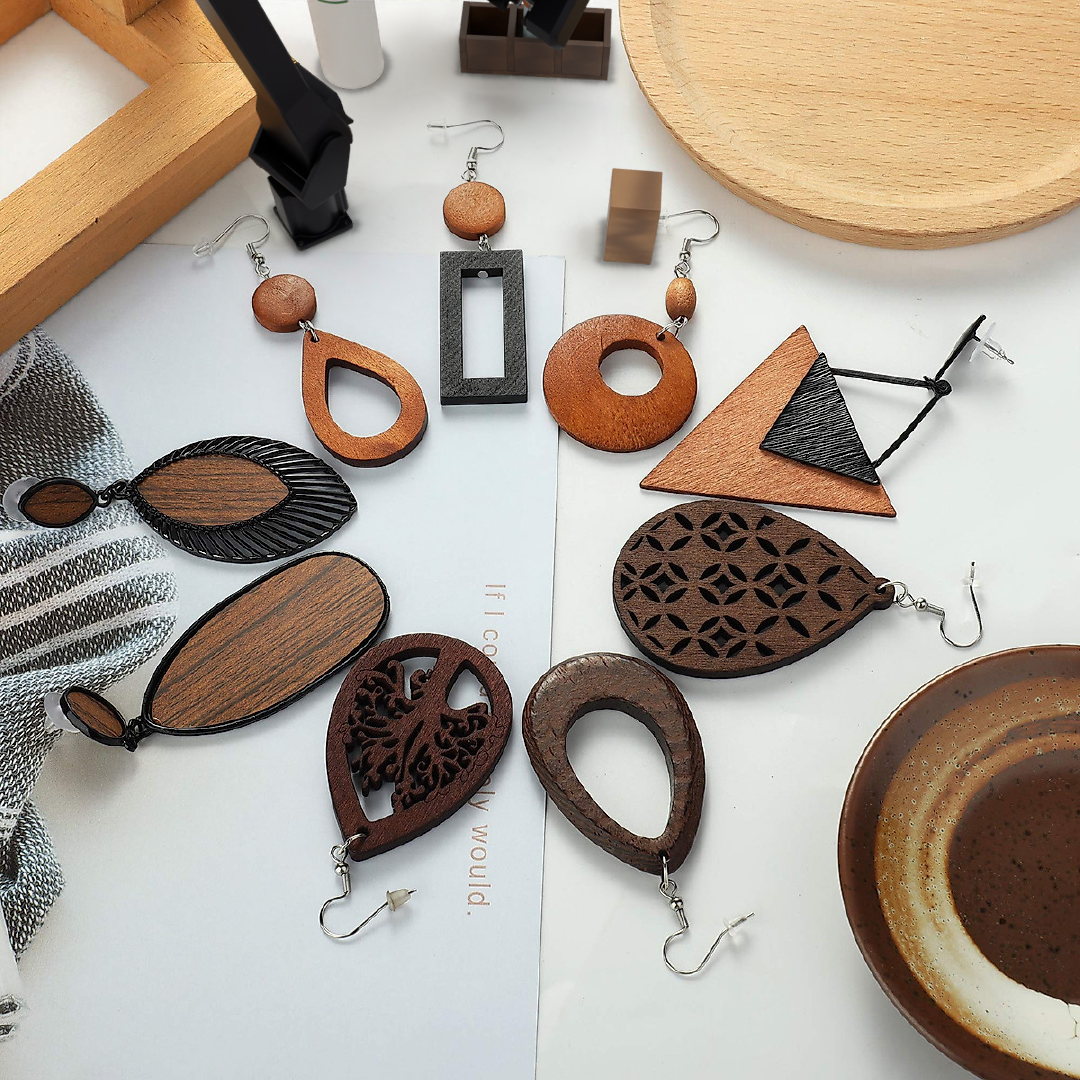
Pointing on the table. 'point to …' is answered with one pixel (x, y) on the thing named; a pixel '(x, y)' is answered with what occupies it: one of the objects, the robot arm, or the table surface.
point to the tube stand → (632, 215)
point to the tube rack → (532, 44)
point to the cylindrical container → (347, 41)
